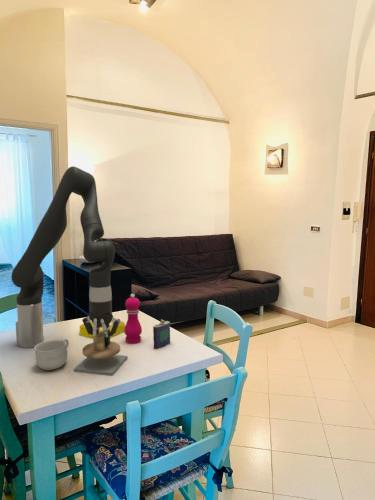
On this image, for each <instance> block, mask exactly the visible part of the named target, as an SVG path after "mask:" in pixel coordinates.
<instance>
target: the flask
mask: <svg viewBox="0 0 375 500" xmlns="http://www.w3.org/2000/svg"><path fill="white" fill-rule="evenodd" d="M152 329H153V330H152V331H153V332H152V333H153V336H152V337H153V349H154V350H159V348H160V349H163V348H164V347H167V346H168V345H169V344H171V321H168V320H163V319H160V322H159V323H158V324H157V323H156V324H155V325H153V326H152Z"/></svg>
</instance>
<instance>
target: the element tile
mask: <svg viewBox="0 0 375 500" xmlns="http://www.w3.org/2000/svg"><path fill="white" fill-rule="evenodd" d="M91 325H92V327H93V323H92V321H91ZM125 326H126V323H125V322H124V321H121V320H120V323H119V325H118V328H117V330H116V332H115V334H113V336H110V339H112V338H114V337H116V336H118V335H121V334H122V333H123V334H124V329H125ZM112 327H113V324H112V321H111V322H110V331H111V329H112ZM100 331H103V328H102V327H100V328H99V332H100ZM79 335H80V336H81V337H85V338H90V339H93V335H91V334H88V332H87V330H86V328H85V326H84V323H83V324H80V325H79Z"/></svg>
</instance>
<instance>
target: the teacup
mask: <svg viewBox="0 0 375 500" xmlns="http://www.w3.org/2000/svg"><path fill="white" fill-rule="evenodd" d="M68 348H69V340H68V338H61V339H51V340H46V341H45V340H44V342H42V343H39V344H38V345H36V346H35V347H33V351H34V356H35V358H34V359H35V362H36V364H37V366H38V367H39V368H40V369H43V370H45V371H52V370H56V369H59V368H61V367H62V366H63V365H64V364H65V363H66V362H67V361H68Z"/></svg>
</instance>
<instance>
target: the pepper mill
mask: <svg viewBox="0 0 375 500" xmlns="http://www.w3.org/2000/svg"><path fill="white" fill-rule="evenodd" d="M124 303H125V308H126V313H127V321H126V323H125V329H124V332H123V334H124V335H126V336H125V342H126V343H127V344H130V345H131V344H132V345H133V344H138V343H140V342H141V341H142V337H141V335H142V332H143V329H142V325H141V322H140V319H139V313H140V309H139V308H140V306H141V301H140V300H139V298H137V297H135V294H134V293H131V294H130V297H128V298H127V299H126V300H125V302H124Z"/></svg>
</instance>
